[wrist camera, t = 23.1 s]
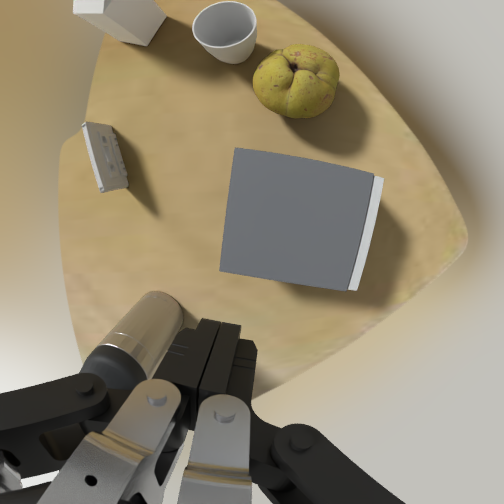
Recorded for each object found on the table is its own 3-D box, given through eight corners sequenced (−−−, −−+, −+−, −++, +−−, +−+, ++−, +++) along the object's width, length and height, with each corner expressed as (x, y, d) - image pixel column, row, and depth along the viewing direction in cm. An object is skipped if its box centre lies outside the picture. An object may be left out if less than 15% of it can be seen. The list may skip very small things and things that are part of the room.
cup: (223, 26, 32) (209, -4, 23) (269, 39, 33) (266, 9, 23) (201, 64, 35) (181, 40, 26) (248, 78, 35) (239, 54, 26)
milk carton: (147, 46, 34) (86, 2, 16) (119, 41, 34) (57, 5, 16) (167, 16, 32) (118, -37, 14) (138, 12, 31) (85, -33, 13)
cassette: (105, 128, 39) (79, 125, 32) (113, 123, 39) (87, 119, 32) (123, 189, 42) (98, 194, 35) (131, 185, 42) (107, 190, 35)
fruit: (343, 114, 36) (362, 100, 26) (269, 134, 38) (267, 124, 28) (317, 53, 33) (327, 25, 23) (245, 71, 35) (236, 46, 26)
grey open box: (329, 257, 43) (346, 291, 31) (235, 242, 43) (219, 271, 32) (346, 171, 38) (373, 173, 27) (247, 153, 39) (234, 147, 27)
